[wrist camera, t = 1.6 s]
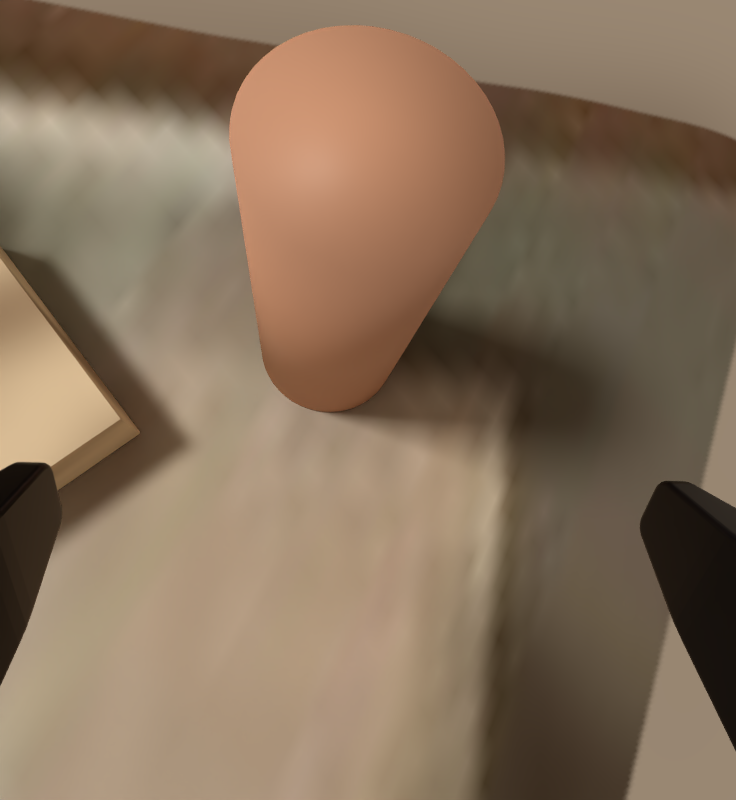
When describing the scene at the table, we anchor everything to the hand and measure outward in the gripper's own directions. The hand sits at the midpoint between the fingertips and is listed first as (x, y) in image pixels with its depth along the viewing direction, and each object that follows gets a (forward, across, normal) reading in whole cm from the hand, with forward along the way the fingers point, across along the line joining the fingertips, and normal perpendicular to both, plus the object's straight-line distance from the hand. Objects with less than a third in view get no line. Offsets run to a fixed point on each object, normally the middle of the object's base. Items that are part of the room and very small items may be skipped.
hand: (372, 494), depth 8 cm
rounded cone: (+14, 0, +4) cm, 14 cm away
